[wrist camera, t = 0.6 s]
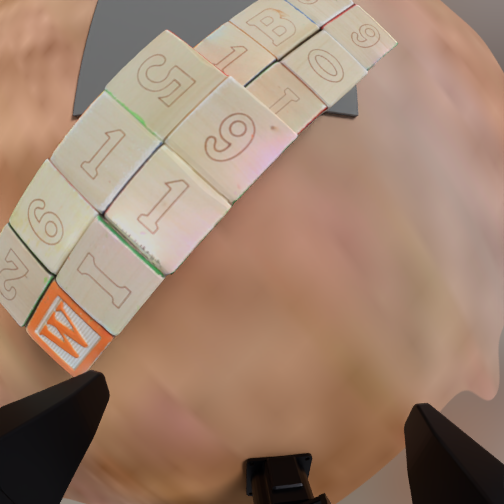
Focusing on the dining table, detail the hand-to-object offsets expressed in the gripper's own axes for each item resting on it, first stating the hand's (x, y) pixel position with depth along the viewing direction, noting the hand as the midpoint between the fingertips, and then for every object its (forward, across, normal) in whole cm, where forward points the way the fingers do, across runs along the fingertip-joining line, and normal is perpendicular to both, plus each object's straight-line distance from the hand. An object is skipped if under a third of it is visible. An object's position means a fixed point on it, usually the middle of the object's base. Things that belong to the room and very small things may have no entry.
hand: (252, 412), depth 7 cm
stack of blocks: (+15, +5, -6) cm, 17 cm away
